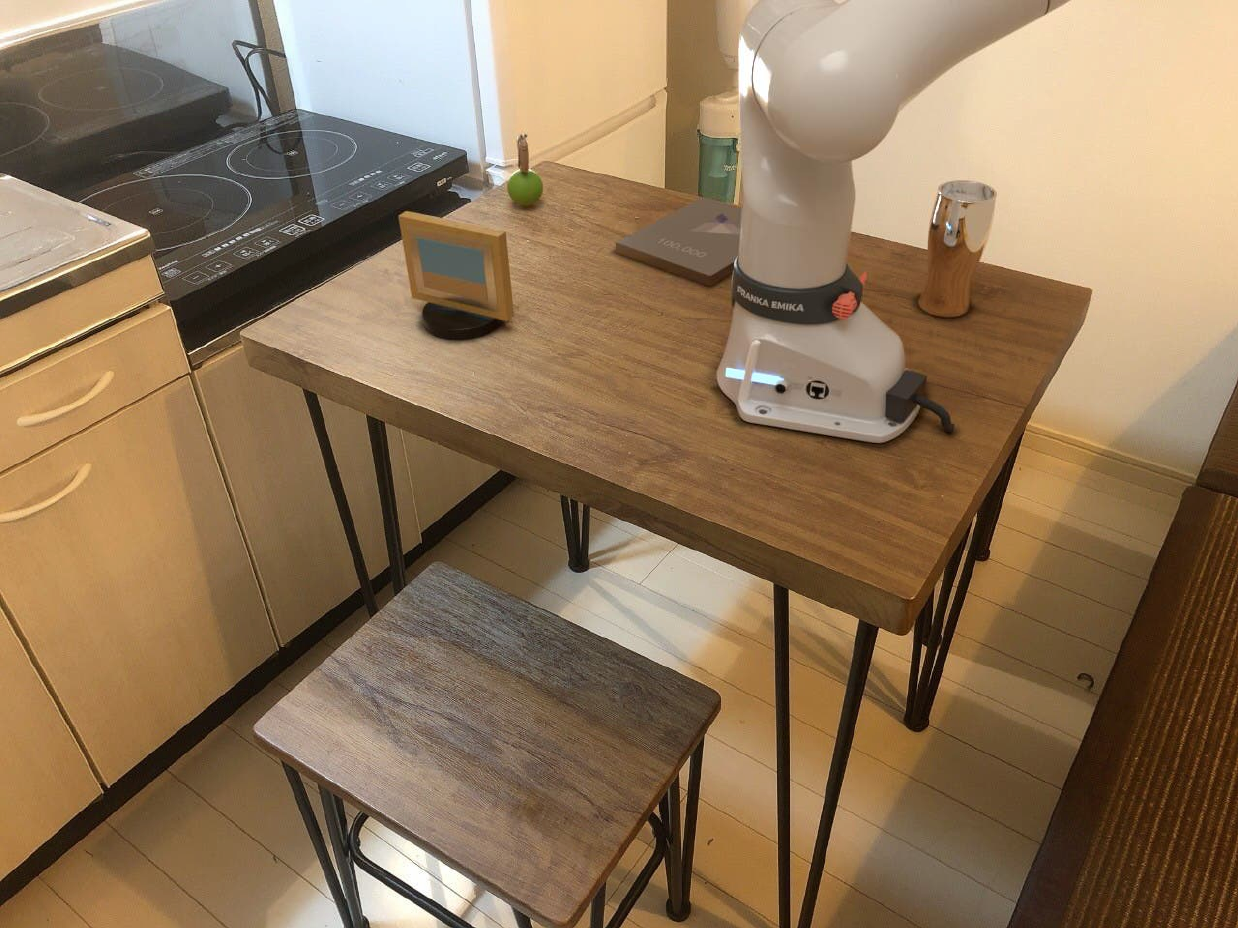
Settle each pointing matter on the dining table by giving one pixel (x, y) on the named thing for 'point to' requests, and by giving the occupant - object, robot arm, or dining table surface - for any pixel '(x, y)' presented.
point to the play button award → (690, 241)
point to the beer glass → (956, 245)
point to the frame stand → (456, 323)
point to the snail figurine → (524, 178)
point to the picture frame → (457, 265)
